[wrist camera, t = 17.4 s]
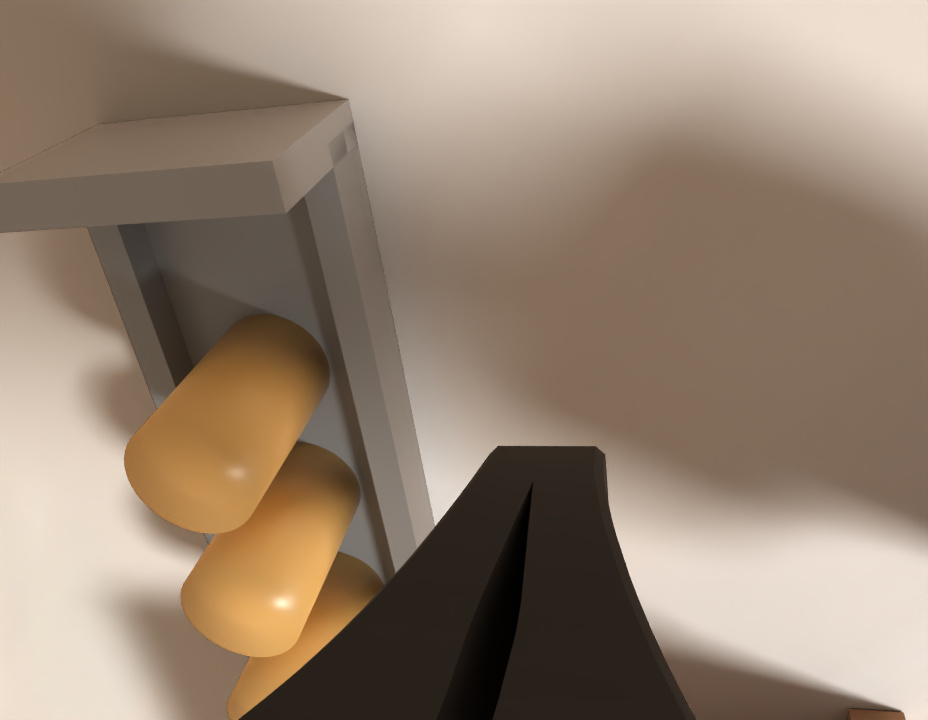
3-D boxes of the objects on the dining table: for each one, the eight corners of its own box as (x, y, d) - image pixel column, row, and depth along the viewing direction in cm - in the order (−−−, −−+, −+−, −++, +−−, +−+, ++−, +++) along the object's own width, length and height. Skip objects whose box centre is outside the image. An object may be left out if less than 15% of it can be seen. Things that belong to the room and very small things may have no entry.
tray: (349, 98, 19) (247, 180, 14) (462, 659, 28) (423, 824, 23) (100, 123, 20) (-68, 205, 16) (284, 647, 29) (213, 800, 25)
